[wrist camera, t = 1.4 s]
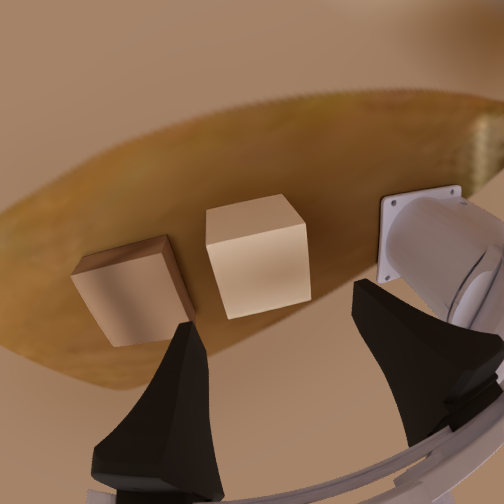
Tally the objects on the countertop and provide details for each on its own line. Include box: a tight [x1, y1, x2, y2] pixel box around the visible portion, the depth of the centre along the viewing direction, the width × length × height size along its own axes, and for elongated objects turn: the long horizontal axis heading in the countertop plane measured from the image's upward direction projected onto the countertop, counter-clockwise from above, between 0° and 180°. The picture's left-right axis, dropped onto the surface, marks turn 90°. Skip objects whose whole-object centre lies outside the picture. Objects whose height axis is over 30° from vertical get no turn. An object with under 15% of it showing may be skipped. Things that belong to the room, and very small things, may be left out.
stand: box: [70, 235, 196, 347], centre depth 18 cm, size 7×7×2 cm
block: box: [206, 194, 311, 319], centre depth 17 cm, size 5×5×5 cm
